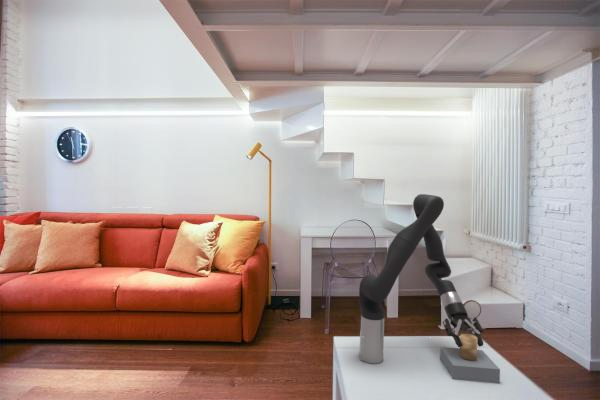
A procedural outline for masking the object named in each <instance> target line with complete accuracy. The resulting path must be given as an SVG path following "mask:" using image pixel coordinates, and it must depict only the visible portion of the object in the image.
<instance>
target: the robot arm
mask: <svg viewBox="0 0 600 400" xmlns="http://www.w3.org/2000/svg"><path fill="white" fill-rule="evenodd" d="M412 203H413V204H412V207H413V211H414V214H415V217H416V219H415V221H414V222H413V221H412V223H411V224H409V225H408V226H406V227H404V228H402V229H401V230H400V231H399V232H397V234H396V235H395V237H394V238H393V239H392V241H391V242H390V244H389V246H388V249H387V251H386V252H387V253H386V259H385V264H384V266H383V267H382V269H381V271H380V272H379V274H378V275H377V276H376V275H374V274H368V275H365V276H363V277H362V279H361V281H360V282H359V286H358V287H359V288H358V289H359V291H358V292H359V293H358V295H359V296H358V297H359V299H358V300H359V308H360V312H361V313H360V331H359V359H360V361H361V362H365V363H368V364H372V365H373V364H381V363H383V361H384V345H385V344H384V342H385V341H384V340H385V309H384V307H383V305H382V302H384V301H385V300H386V299H387V298H388V297H389V295H390V293H391V291H392V289H393V287H394V284H395V283H396V281H397V279H398V277H399V275H400V274H401V272H402V270H403V269H404V267H405V266H406V264H407V262H408V261H409V259H410V258H411V256H412V255H413V254H414V252H415V250H416V249H417V247H418V246H419V244H420V242H421V241H422V239H423V241H424V247H425V252H426V256H427V259H428V260H429V261H431V262H433V263H428V264H427V265H425V268H424V272H425V275H426V276H427V277H428V279H429V280H430V282H431V283H432V285H433V286H434V287H435V289H436V290H437V293H438V295H439V298H440V299H441V300H440V301H441V304H442V307H443V309H444V311H445V314H446V317H447V318H445V319H443V321H442V324H443V327H444V330H445V332H446V336H447V337H452V338H453V340H454V342H455V345H456V346H457V348H460V347H462V346H463V344H462V342H461V340H460V335H459V332H462V331H463V332H467V333H469V332H470V333H472V335H474V336H476V337H477V338H478V340H477V347H483V346H484V341H483V339H482V336H481V334H483V333H484V331H485V330H483V327H482V325H481V323H480V321H479V320H478V317H477V318H473V319H470V318H469V317H468V315H467V311H466V309H465V307H464V305H463V304H464V303H463V301H462V299H461V297H460V295H459V293H458V292H457V290H456V287H455V285H454V283H453V282H452V281H451V280H450V279H448V280H447V279H445V278H448V277H450V276H451V274H452V269H451V267H450V264H449V263H448V261H447V259H446V257H445V252H444V247H443V241H442V239H441V236H440V234H439V233H438V231H437V230H436V229H435V227H434V225H433V224H434V223H435V222H436V221H437V220H438V218H439V217H440V216H441V214H442V212H443V209H444V206H445V203H444V199H443V198H442V197H440V196H437V195H432V194H425V193H424V194H423V193H420V194H417V195H416V196H415V197H414V199H413V202H412ZM471 323H472V324H471ZM451 325H452V326H451ZM452 327H453V328H452ZM470 327H471V329H470Z"/></svg>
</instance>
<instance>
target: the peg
mask: <svg viewBox="0 0 600 400" xmlns="http://www.w3.org/2000/svg"><path fill="white" fill-rule="evenodd" d="M459 337H460V340H461V342H462V344H463V346H462V347H459V348H460V357H461V358H463V359H464V360H468V361H476V360H477V350H478V343H477V340H478V338H477V337H476V336H474V335H473V334H469V332H462V333H460V335H459Z"/></svg>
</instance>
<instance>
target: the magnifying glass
mask: <svg viewBox="0 0 600 400" xmlns="http://www.w3.org/2000/svg"><path fill="white" fill-rule="evenodd" d="M463 305H464V307H465V309H466V311H467V315H468V317H469V318H470V319H473V318H477V319H478V317H479V316H480V315H481V313H482V307H481V305H480V303H479V302H478V301H477V300H473V299H470V300H469V299H468V300H466V301H465V302H464V303H463ZM471 324H472V323H471ZM470 329H471V327H470ZM468 334H472V333H470V332H468ZM472 335H473V334H472Z"/></svg>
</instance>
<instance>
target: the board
mask: <svg viewBox="0 0 600 400" xmlns="http://www.w3.org/2000/svg"><path fill="white" fill-rule="evenodd" d="M439 353H440V355H439V357H440V358H439V359H440V361H441V362H442V365H443V366H444V367H445V369H446V370H447V372H448V374H449V376H450V377H451V379H453V380H461V381H471V382H472V381H473V382H483V383H484V382H485V383H495V384H500V381H501V380H500V379H501V369H500V368H499V367H498V366H497V364H496V363H495V362H494V361H493V360H492V359H491V358H490V356H488V354H486V353H485V351H484V350H482V349H477V360H476V361H468V360H464V359H463V358H461V357H460V347H447V346H440V352H439Z"/></svg>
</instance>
